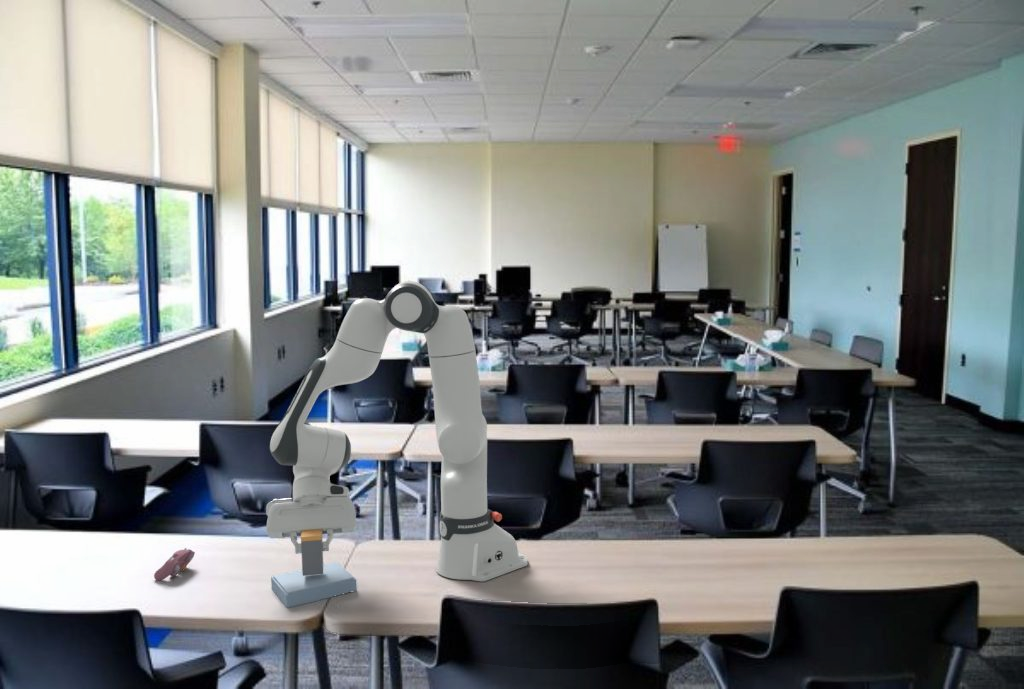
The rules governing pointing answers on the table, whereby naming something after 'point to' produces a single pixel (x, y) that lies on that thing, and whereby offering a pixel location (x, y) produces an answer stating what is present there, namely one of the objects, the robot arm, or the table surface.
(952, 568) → the table surface
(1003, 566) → the table surface
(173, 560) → the video game controller
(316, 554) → the block
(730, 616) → the table surface
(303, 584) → the stand
